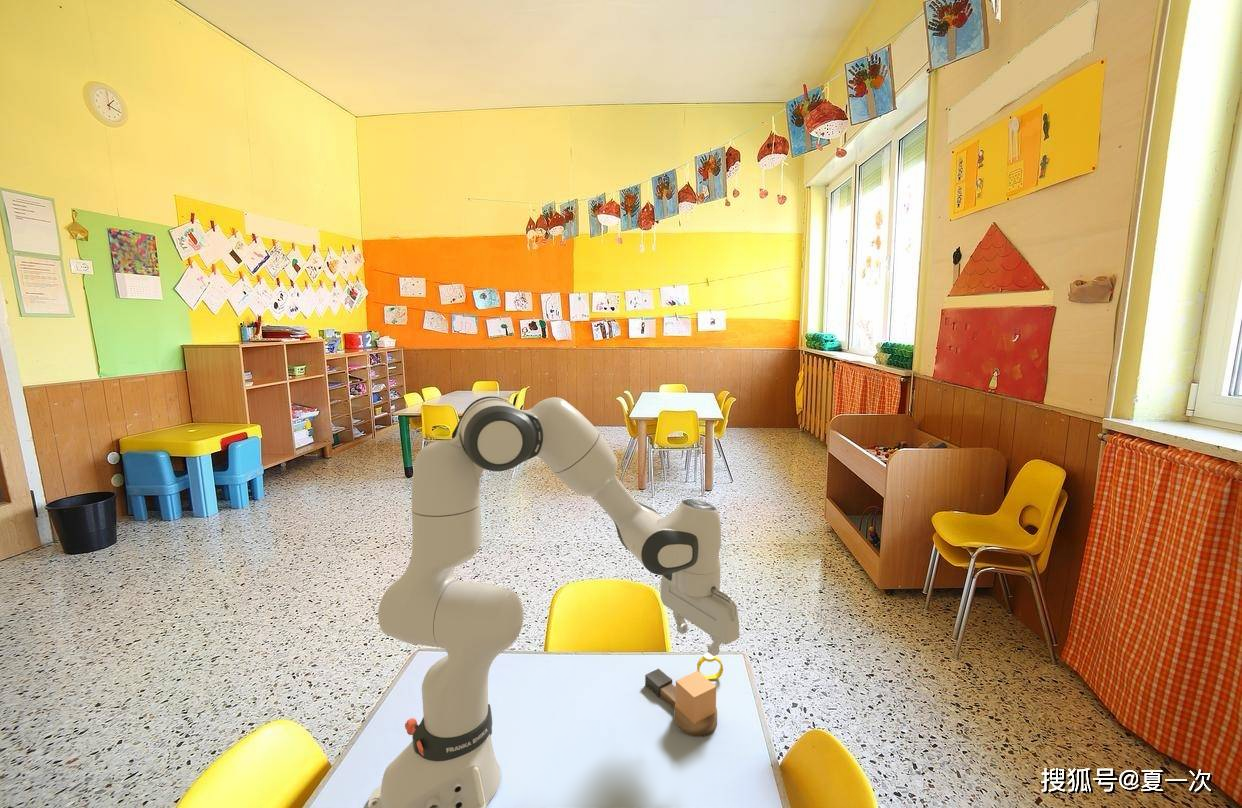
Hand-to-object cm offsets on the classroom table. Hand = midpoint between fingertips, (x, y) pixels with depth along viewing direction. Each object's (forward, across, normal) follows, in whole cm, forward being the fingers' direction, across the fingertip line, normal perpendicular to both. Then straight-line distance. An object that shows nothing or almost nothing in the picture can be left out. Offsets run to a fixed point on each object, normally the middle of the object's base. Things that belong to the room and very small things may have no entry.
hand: (697, 642), depth 107 cm
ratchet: (+18, +6, -1) cm, 19 cm away
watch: (+18, +9, -12) cm, 24 cm away
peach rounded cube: (+16, +1, 0) cm, 16 cm away
